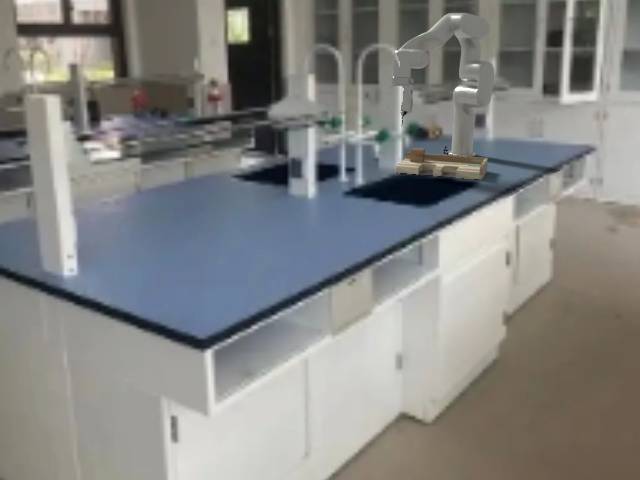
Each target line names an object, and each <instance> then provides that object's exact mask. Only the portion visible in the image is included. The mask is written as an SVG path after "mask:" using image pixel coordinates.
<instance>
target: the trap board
mask: <svg viewBox="0 0 640 480" xmlns="http://www.w3.org/2000/svg"><path fill="white" fill-rule="evenodd" d="M404 156H405V158H404V159H403V160H402V161H401V162H399V163H397V164H396V165H395V173H396V172H398V173H397V174H400V173H407V174H406V175H412V174H416V175H415V176H425V175H433V176H432V177H437V176H443V177H442V178H449V177H453V178H452V179H462V178H464V179H465V180H474V179H479V180H478V181H482V180H483V178H484V177H485V176H486V174H487V172H486V171H488V160H489V159H488V157H477V156H473V157H466V156H452V155H447V154H444V155H443V154H438V153H436V154H434V153H425V161H424V162H422V163H419V162H410V156H411V151H410V152H408V151H407V152H405V155H404ZM483 176H484V177H483Z"/></svg>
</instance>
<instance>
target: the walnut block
mask: <svg viewBox="0 0 640 480" xmlns="http://www.w3.org/2000/svg"><path fill="white" fill-rule="evenodd" d="M410 153H411V156H410V162H419V163H422V162H424V161H425V154H426V148H421V147H419V148H418V147H413V148H411V149H410Z"/></svg>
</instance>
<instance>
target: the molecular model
mask: <svg viewBox="0 0 640 480" xmlns="http://www.w3.org/2000/svg"><path fill="white" fill-rule="evenodd" d="M449 148H450V147H449V146H447V144H444V146H443V148H442V149H441V151H443V152H442V155H448V154H449V155H452V156H454V155H453V153H452V154H450V153H449V151H451V149H449ZM457 156H459V154H458V155H457ZM462 156H463V155H462ZM467 157H469V155H467ZM472 157H475V156H474V155H472Z"/></svg>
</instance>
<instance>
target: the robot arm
mask: <svg viewBox="0 0 640 480" xmlns="http://www.w3.org/2000/svg"><path fill="white" fill-rule="evenodd" d="M490 31H491V24H490V22H489V21H488V20H487V19H486V18H483V17H481V16H478V15H475V14H471V13H467V12H448V13H447V14H445V15H443V17H441V18H440V19H439V20H438V21H437V22H436V23H435V24H434V25H433V26H432V27H431V28H430V29H428V30H427V31H426V32H423V33H421V34H420V35H417V36H415V37H413V38H411V39H410V40H408V41H407V42H405V44H403V45H402V46H401V47H400V48H399V49H395V50H394V51H395V53H396V54H397V56H398V58H399V61H400V67H399V65H398V63H397V61H396V60H395V59H394V58H393V57H392V66H391V67H392V68H391V70H392V71H391V84H389V86H390V88H391V87H393V86H402V87H403V88H404V91H403V102H402V105H401V110H400V113H401V115H402V119H403V120H402V125H401V126H403V123H404V117H405V116H406V115H408V114H412V113H414V112H413V107H414V91H413V90H414V89H413V85H411V84H412V83H415V82H414V79H413V78H412V77H411V73H412V70H411V69H424V68H425V67H426V66H428V64H429V61H430V56H429V54H428V52H429V51H434V50H437V49H440V48H441V47H443V46H444V45H445V44H446V43H447V42H448V41H449V40H450V39H451V38H452V37H453V36H455V37H456V38H457V40H458V42H459V44H460V49H461V52H460V60H459V71H458V74H459V79H460V80H461V81H463V82H466V83H476V84H477V85H474V84H473V85H472V84H460V85H458V86H455V88H454V90H453V92H452V104H453V122H452V138H451V149H450V151H449V153H450V154H452V153H453V155H454V156H457V155H458V154H459V156H462V155H463V156H466V157H467V155H469V157H472V155H474V156H473V157H476V154H477V153H476V152H475V151H473V149H474V148H473V146H474V136H475V135H474V133H475V124H476V123H475V121H476V115H475V114H476V113H475V110H474V109H473V108H475V109H485V108H488V106H489V105H490V103H491V100H492V95H493V87H494V80H495V67H494V65H493V63H492V62H490V61H489V60H488V61H487V60H481V55H482V47H481V43H480V41H479V40H484V39H485V38H487V37H488V36H489V34H490ZM389 94H390V93H389ZM387 108H389V106H387V105H386V109H387ZM401 111H402V112H401ZM448 155H449V154H448Z"/></svg>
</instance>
